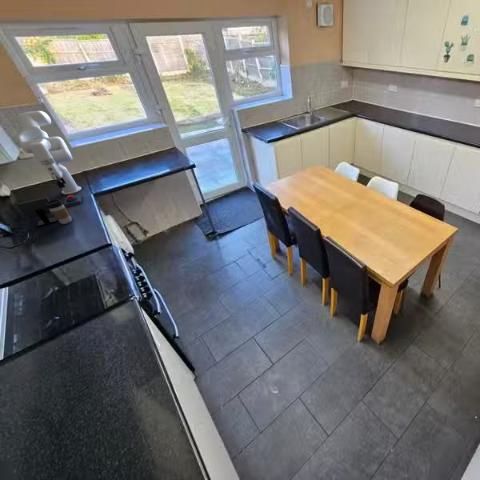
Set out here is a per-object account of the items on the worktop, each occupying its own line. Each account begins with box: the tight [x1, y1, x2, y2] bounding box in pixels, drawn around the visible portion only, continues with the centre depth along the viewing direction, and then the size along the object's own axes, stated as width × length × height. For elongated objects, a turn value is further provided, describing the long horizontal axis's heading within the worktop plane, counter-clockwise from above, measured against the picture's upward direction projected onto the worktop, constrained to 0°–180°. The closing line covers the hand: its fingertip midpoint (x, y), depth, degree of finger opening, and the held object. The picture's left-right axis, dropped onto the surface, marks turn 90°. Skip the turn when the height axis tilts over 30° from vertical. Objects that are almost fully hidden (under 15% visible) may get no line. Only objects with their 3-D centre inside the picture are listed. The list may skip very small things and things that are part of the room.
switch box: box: [63, 194, 82, 208], centre depth 200 cm, size 11×9×4 cm
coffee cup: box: [46, 199, 73, 225], centre depth 175 cm, size 8×8×15 cm
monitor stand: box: [35, 209, 59, 228], centre depth 176 cm, size 7×10×10 cm
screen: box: [17, 196, 52, 219], centre depth 173 cm, size 2×14×10 cm, turn 124°
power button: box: [66, 194, 74, 199], centre depth 198 cm, size 4×4×2 cm
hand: (63, 185), depth 192 cm, fingers open, 6 cm apart
